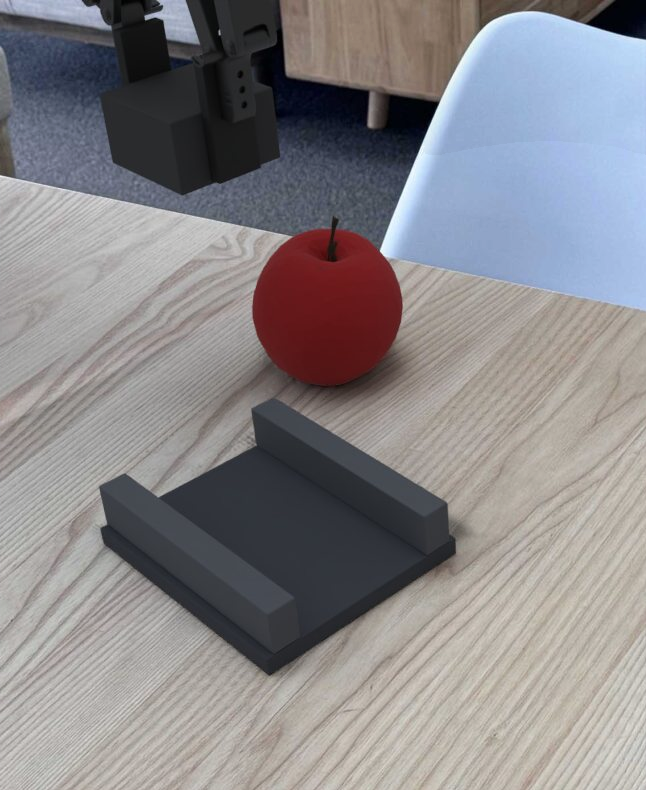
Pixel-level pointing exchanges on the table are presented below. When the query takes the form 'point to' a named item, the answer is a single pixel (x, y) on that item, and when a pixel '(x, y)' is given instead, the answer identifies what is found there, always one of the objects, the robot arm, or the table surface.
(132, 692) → the table surface
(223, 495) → the base pad
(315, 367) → the apple
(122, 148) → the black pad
